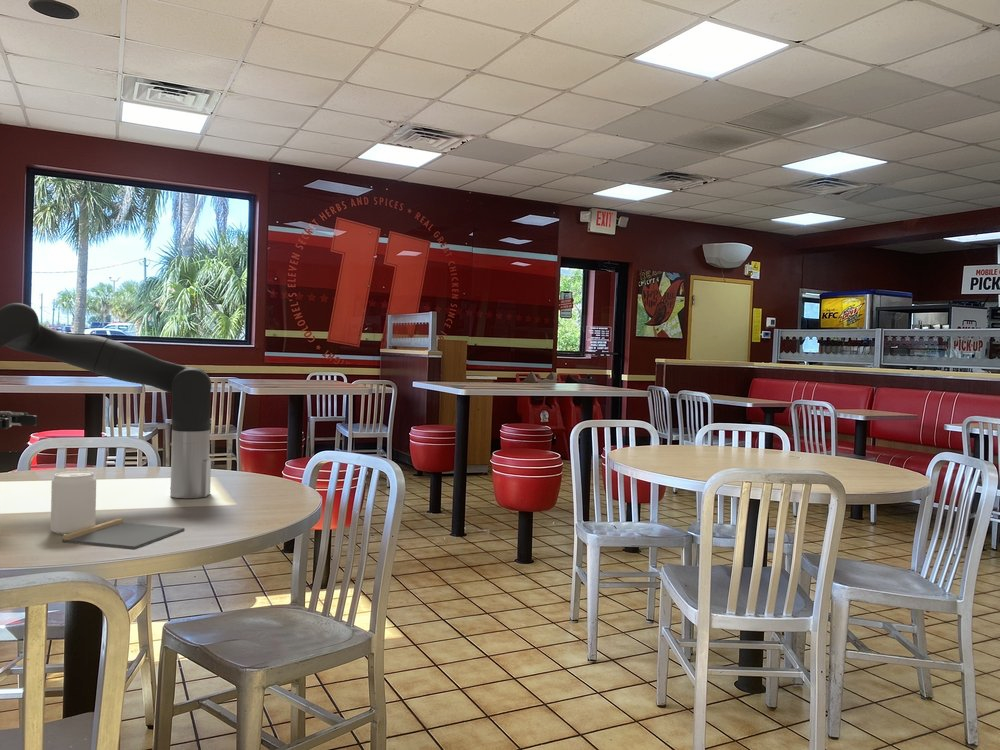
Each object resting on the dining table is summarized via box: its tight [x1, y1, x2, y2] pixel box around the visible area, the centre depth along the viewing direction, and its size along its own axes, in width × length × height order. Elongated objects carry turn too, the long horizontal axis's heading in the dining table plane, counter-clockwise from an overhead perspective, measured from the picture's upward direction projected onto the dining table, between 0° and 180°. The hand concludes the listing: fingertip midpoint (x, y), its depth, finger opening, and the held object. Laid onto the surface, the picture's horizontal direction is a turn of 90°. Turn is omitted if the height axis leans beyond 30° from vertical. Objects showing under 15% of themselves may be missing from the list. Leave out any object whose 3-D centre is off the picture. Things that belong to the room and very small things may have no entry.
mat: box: [62, 517, 186, 550], centre depth 157 cm, size 16×16×1 cm
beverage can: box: [50, 470, 97, 535], centre depth 159 cm, size 8×8×12 cm
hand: (22, 422), depth 161 cm, fingers open, 7 cm apart
